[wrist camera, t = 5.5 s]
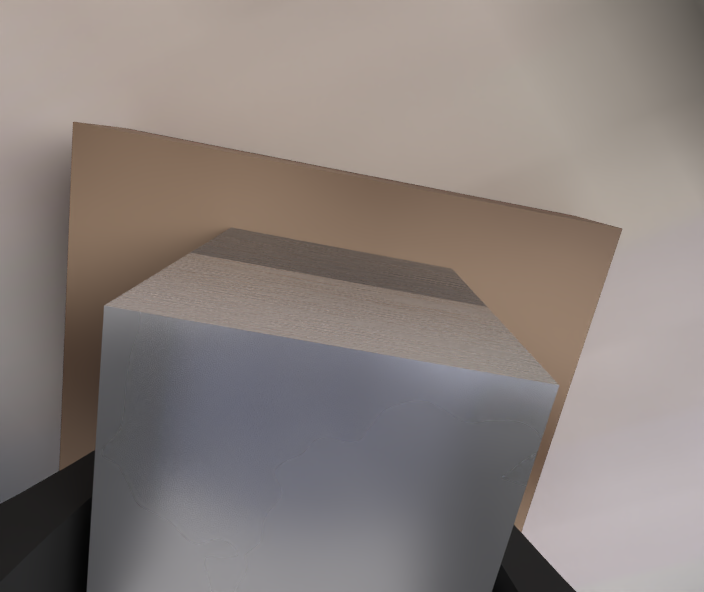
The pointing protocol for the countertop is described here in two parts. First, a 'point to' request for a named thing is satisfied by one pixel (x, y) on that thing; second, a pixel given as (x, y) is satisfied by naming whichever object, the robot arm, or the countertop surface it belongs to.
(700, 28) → the countertop surface
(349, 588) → the block
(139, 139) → the stand
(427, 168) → the countertop surface
